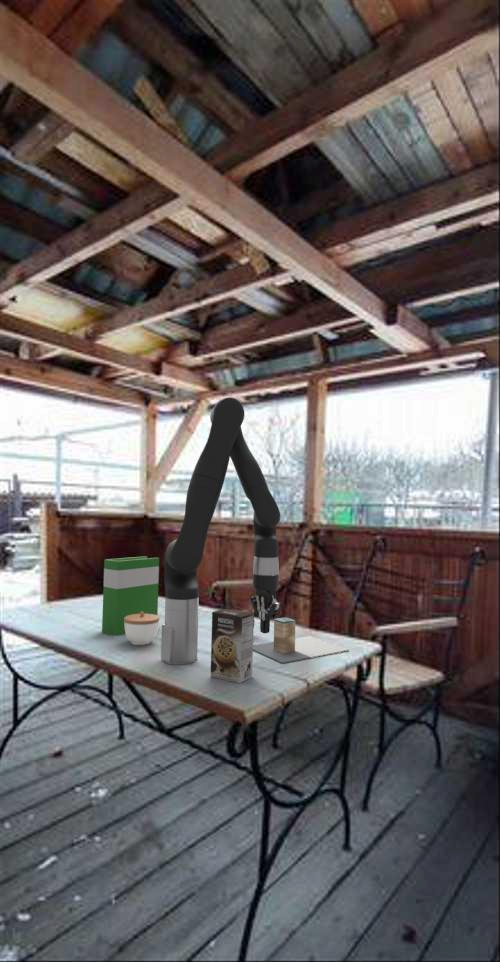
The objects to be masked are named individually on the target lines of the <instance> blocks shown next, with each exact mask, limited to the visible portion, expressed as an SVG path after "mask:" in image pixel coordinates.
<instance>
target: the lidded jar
mask: <svg viewBox="0 0 500 962" xmlns="http://www.w3.org/2000/svg"><path fill="white" fill-rule="evenodd" d="M159 623H160V616H159V615H158V614H157V615H154V614H144V612H140V614H132V615H128V616H126V617H125V618H124V628H125V634H124V635H125V636H126V638H127V639H128V641H129V642H130V643H131V645H133V646H144V645H145V644H146V645H149V644H151V643H152V641H153V640H154V639H155V638H156V636H157V634H158V631H159V626H160V624H159Z"/></svg>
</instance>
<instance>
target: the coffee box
mask: <svg viewBox="0 0 500 962" xmlns="http://www.w3.org/2000/svg"><path fill="white" fill-rule="evenodd" d="M244 611H245V610H236V609H232V608H231V609H230V608H223V609H217V610H214V611H212V613H211V641H210V642H211V646H210V649H211V650H210V677H212V678H217V679H220V680H223V681H229V682H233V683H237V684H241V683H243V682H245V681H247V680H249V679H251V678H253V660H254V659H253V657H254V653H253V645H254V629H255V623H254V622H255V612H251V611H250V612H251V613H250V612H244Z"/></svg>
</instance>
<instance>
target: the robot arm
mask: <svg viewBox="0 0 500 962" xmlns="http://www.w3.org/2000/svg"><path fill="white" fill-rule="evenodd" d="M209 417H210V423H211V425H210V429H209V430H210V431H209V433H208V434H209V435H208V436H207V437H208V438H207V440H206V443H205V446H204V447H203V449H202V451H201V453H200V455H199V456H198V457H199V458H198V459H197V462H196V463H195V466H194V469H193V471H192V475H191V478H190V481H189V484H188V488H187V492H186V499H185V506H184V507H185V510H184V518H183V521H182V526H181V527H180V530H179V533H178V536H177V537H176V539H174V540H173V541H171V542H170V543H169V544H168V546H167V547H166V550H165V554H164V590H165V609H164V623H163V624H161V639H160V640H161V643H160V644H161V645H160V646H161V647H160V659H161V660H162V661H164V662H165V663H167V664H168V665H187V664H192V663H194V662H197V661H198V652H199V651H198V644H199V642H198V640H199V639H198V637H199V606H200V605H199V602H200V601H199V600H200V599H199V595H200V588H199V583H198V576H197V573H198V571H197V570H198V568H199V567H200V565H201V563H202V561H203V555H204V552H205V546H206V542H207V541H206V540H207V535H208V530H209V529H210V528H209V527H210V526H211V525H210V524H211V521H212V518H213V516H214V514H215V511H216V509H217V508H216V507H217V504H218V501H219V499H220V496H221V493H222V489H223V486H224V482H225V479H226V475H227V472H228V467H229V462H230V459H231V463H232V464H233V466H234V469H235V472H236V474H237V477H238V479H239V482H240V485H241V487H242V490H243V492H244V495H246V497H247V499H248V500H249V502H250V504H251V507H252V509H253V511H254V512H253V516H252V517H253V533H254V546H253V547H254V548H253V549H254V551H253V552H254V553H253V563H252V588H253V589H254V590H255V593H254V596H251V597H250V598H249V599H250V603H251V606H252V608H253V612H254V615H255V616H257V617H258V618H259V622H260V624H259V627H260V628H259V630H260V631H259V632H260V633H263V634H269V633H270V626H271V624H270V623H271V620H274V619H276V617H277V615H278V613H279V611H280V609H281V608H282V603H281V602H278V601H277V593H276V591H277V590H278V589H279V587H280V586H279V583H280V582H279V580H280V579H279V576H280V574H279V573H280V571H279V570H280V565H279V563H280V562H279V541H278V538H277V525H278V524H279V523H280V520H281V510H280V509H279V506H278V504H277V502H276V500H275V499H274V496H273V494H272V493H271V491H270V489H269V487H268V483H267V480H266V479H265V476H264V473H263V470H262V469H261V466H260V464H259V462H258V461H257V460H256V458H255V455H253V453H252V451H251V450H250V448H249V446H248V444H247V442H246V439H245V437H244V434H243V431H242V427H241V426H242V424H243V423H244V419H245V408H244V406H243V404H242V403H241V401H239V399H237V398H235V397H233V396H231V397H230V396H229V397H225V398H221V400H219V401H217V402H216V404H215V405H214V406H213V407H212V410H211V412H210V415H209Z"/></svg>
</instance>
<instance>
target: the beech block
mask: <svg viewBox="0 0 500 962" xmlns="http://www.w3.org/2000/svg"><path fill="white" fill-rule="evenodd" d="M273 620H274V621H273V642H274V650H276V651H279V652H281V653H287V652H293V651H295V638H296V620H295V619H292V618H290V617H279V618H278V617H277V618H274V619H273Z"/></svg>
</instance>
